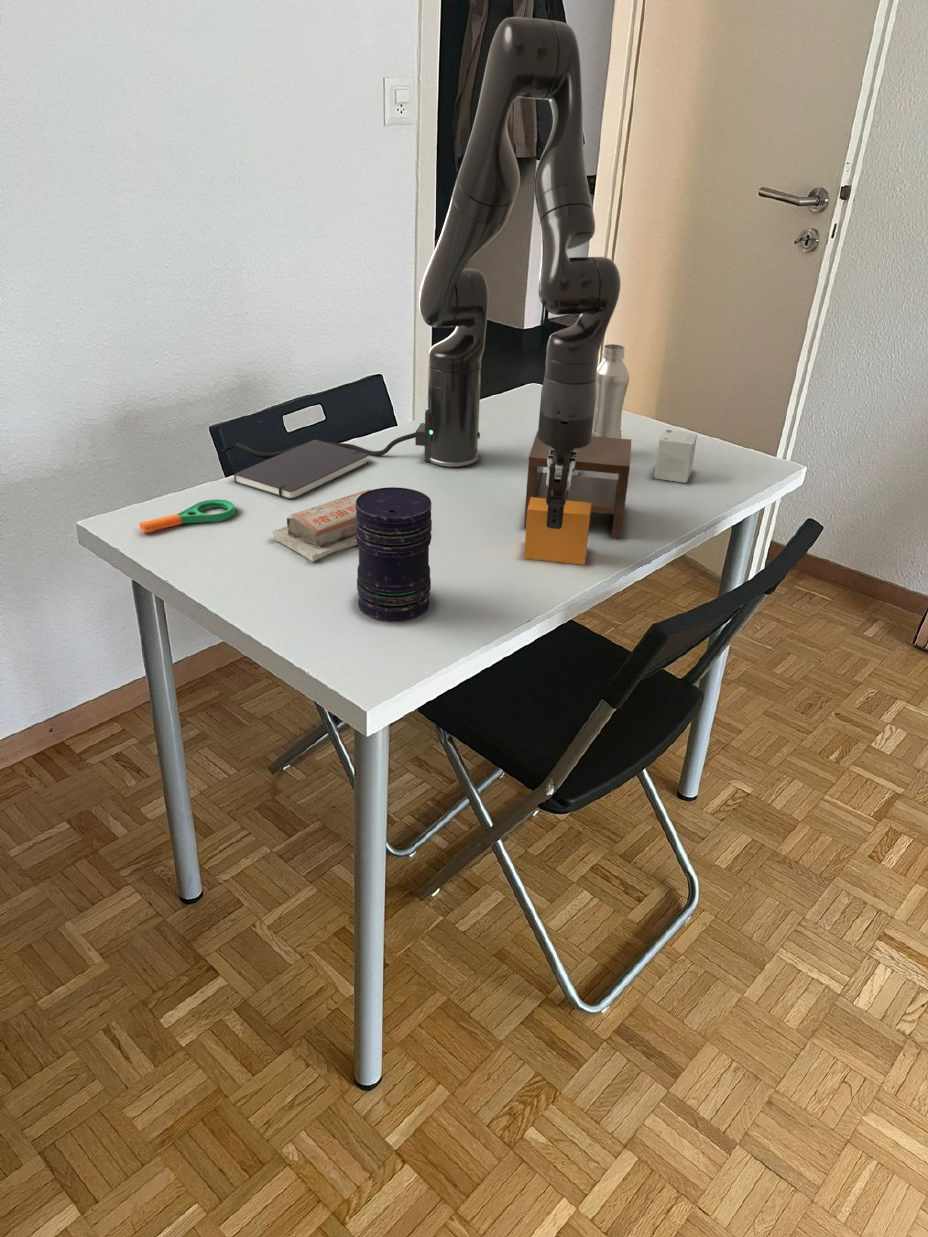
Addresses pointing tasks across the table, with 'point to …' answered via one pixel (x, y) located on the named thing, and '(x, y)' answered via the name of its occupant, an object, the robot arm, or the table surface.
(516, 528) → the table surface
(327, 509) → the packaged product
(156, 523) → the magnifying glass
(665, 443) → the product carton
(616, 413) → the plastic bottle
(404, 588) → the storage jar
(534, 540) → the packet
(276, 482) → the notebook
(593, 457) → the wooden shelf
